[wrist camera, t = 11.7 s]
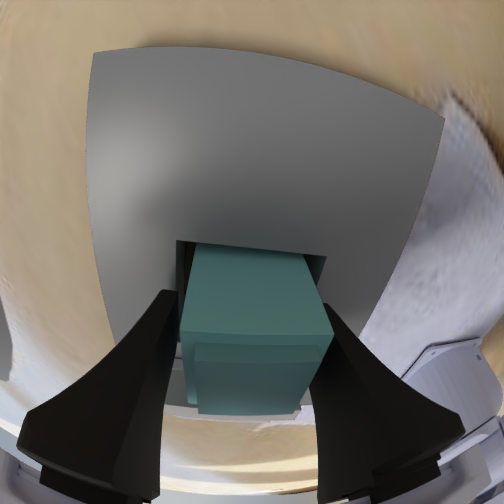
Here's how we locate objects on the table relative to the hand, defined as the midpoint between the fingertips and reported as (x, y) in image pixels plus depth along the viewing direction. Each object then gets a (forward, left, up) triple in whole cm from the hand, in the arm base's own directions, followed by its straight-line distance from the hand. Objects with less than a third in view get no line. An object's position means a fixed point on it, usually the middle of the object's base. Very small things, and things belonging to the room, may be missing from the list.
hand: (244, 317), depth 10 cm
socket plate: (0, 0, -3) cm, 3 cm away
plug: (0, 0, -3) cm, 3 cm away
